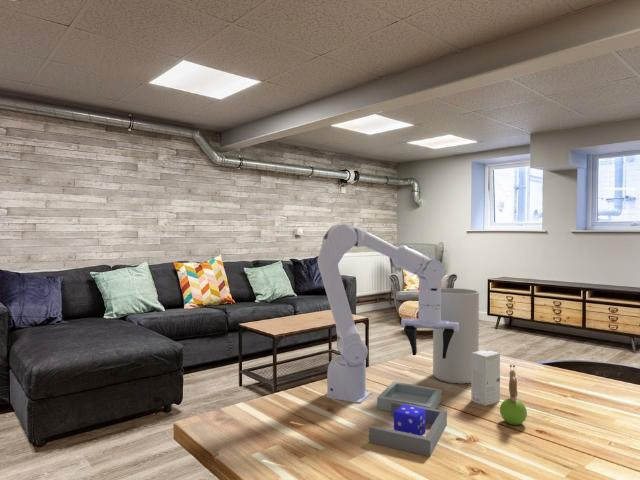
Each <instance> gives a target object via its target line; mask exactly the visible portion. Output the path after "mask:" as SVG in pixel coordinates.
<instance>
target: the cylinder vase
mask: <svg viewBox="0 0 640 480" xmlns="http://www.w3.org/2000/svg"><path fill="white" fill-rule="evenodd" d="M479 318H480V291H479V290H475V289H467V288H456V287H454V288H453V287H451V288H450V287H448V288H445V287H443V288H442V287H441V320H442V321H449V322H457V323H459V330H458V331H454V333H453V336H452V338H451V340H450V342H449V345H448V349H447V354H446V358H445V359H443V331H444V330H441V329H432V330H433V331H432V374H433V376H434V378H436V379H437V380H439V381H441V382H445V383H448V384H449V383H450V384H455V383H458V384H459V385H462V384H463V385H464V384H465V383H467V384H471V357H472V352H477V351H479V345H480V344H479V333H480V332H479V331H480V329H479V326H480V325H479V323H480V321H479V320H480V319H479ZM458 384H457V385H458Z"/></svg>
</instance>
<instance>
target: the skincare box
mask: <svg viewBox="0 0 640 480" xmlns="http://www.w3.org/2000/svg"><path fill="white" fill-rule="evenodd" d="M470 385H471V386H470V387H471V391H470V392H471V394H470V395H471V399H470V400H471V401H472V402H474V403H476V404H479V405H481V406H485V407H486V406H490V405H494V404H496V403H499V402H501V354H500V352H497V351H493V350H489V349H484V350H478V351H477V352H472V357H471V383H470Z"/></svg>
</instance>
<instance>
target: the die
mask: <svg viewBox="0 0 640 480" xmlns="http://www.w3.org/2000/svg"><path fill="white" fill-rule="evenodd" d="M425 419H426V410H425V409H423V408H419V407H414V406H410V405H406V404H403V405H402V406H401V407H399V408H398V409H397V410H396V411H394V416H393V430H396V431H401V432H406V433H410V434H415V435H420V436H423V435H424V434H425V433H426V423H425Z"/></svg>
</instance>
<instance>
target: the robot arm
mask: <svg viewBox="0 0 640 480" xmlns="http://www.w3.org/2000/svg"><path fill="white" fill-rule="evenodd" d="M353 247H354V248H362V247H365V248H367V249H370V250H372V251H374V252H377V253H380V254H381V255H383V256H385V257H388V258H390V260H391V261H392V263H393V265H394V266H396V267H398V268H400V269H402V270H404V271H406V272H408V273H411V274H413V275H416V277H418V312H417V313H418V314H417V315H418V318H403V317H402V318H401V323H400V324H401V325H400V326H401V328H404V332H405V334H406V336H407V339H408V341H409V344H410V347H411V348H410V349H411V353H412V356H416V355H417V353H418V350H417V348H418V346H417V336H418V335H417V333H418V332H417V331H418V329H419V328H421V329H432V330H433V329H441V330H444V331H443V359H445V358H446V354H447V349H448V345H449V342H450V340H451V338H452V336H453V333H454V331H458V330H459V323H457V322H449V321H442V320H441V289H442V280H443V279H444V278H445V275H446V269H445V268H444V267H445V266H444V265H443V263H442V262H441V261H440V260H439V259H434V258H430V257H429V256H430V255H429V254H427V253H425V252H424V253H422V252H419V251H417V250H415V249H413V248H414V246H412V245H411V244H407V245H404V244H402V245H399V246H395V245H393V244H391V243H389V242H388V241H385V240H384V239H382V238H380V237H378V236H376V235H374V234H372V233H370V232H369V231H366V230H364V229H360V228H357V227H353V226H351V225H350V224H346V223H345V224H335V225H332V226H330V227H329V229H328V230H327V231H326V232H325V234H324V236H323V237H322V243H321V247H320V250H319V253H318V256H317V260H316V261H317V262H316V263H317V266H318V269H319V274H320V277H321V279H322V284H323V287H324V290H325V293H326V297H327V299H328V303H329V307H330V311H331V313H332V317H333V321H334V324H335V328H336V329H335V331H336V335H337V340H336V349H337V350H338V352H339V353H340V354H339V356H338V357H337V359H335V358H333V359H331V361H330V362H329V364H328V366H327V379H326V380H327V384H326V385H327V388H326V393H327V394H326V395H325V397H326V398H329V399H334V400H339V401H344V402H350V403H355V404H361V403H363V401H365V400H366V399H367V398H369V396H370V395H371V394H372V391H369V390H366V389H367V387H366V386H367V385H366V384H367V379H366V378H367V376H366V374H367V372H366V371H367V370H366V369H367V366H366V364H367V363H366V362H367V358H368V354H369V350H368V346H367V345H366V343H365V342H364V341H363V340H362V338H361V335H360V333H359V330H358V328H357V326H356V324H355V320H354V317H353V314H352V309H351V306H350V302H349V300H348V295H347V292H346V289H345V285H344V283H343V280H342V276H341V272H340V269H339V263H340V261H341V260H342V258H343V256H344V255H346V253H348V252H349V251H350V250H351V249H352V248H353Z"/></svg>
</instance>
